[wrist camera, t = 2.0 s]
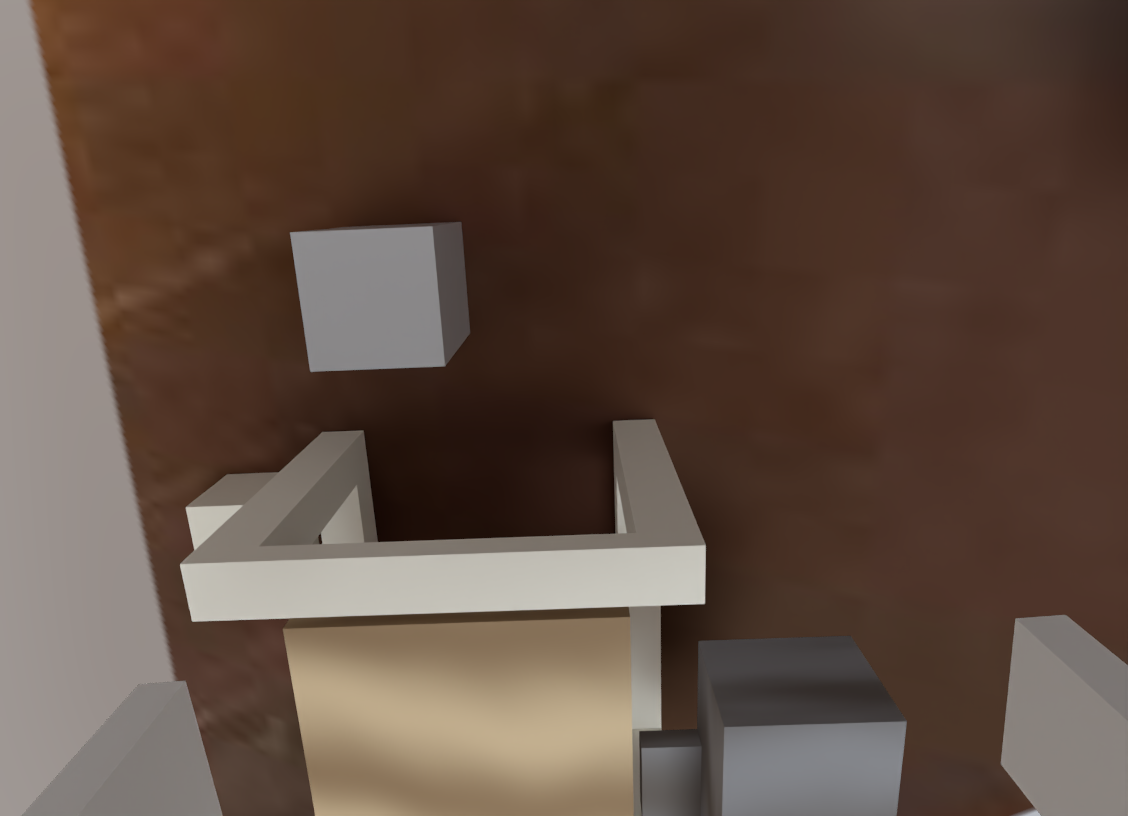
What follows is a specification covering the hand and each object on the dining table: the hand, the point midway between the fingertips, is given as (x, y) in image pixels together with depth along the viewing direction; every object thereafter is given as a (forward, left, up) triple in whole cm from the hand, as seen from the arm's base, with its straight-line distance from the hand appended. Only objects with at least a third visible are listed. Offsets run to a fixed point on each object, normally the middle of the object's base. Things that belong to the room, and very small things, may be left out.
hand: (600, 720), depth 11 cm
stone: (-5, -7, -23) cm, 25 cm away
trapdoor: (+11, -1, -11) cm, 15 cm away
